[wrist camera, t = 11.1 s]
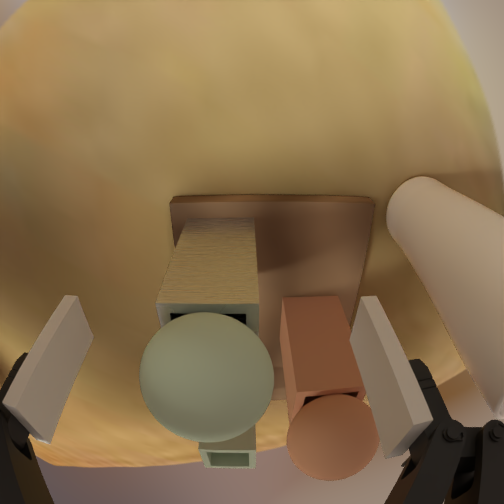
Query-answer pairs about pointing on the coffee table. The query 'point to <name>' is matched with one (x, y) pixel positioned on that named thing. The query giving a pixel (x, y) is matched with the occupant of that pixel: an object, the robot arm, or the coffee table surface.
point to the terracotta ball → (333, 437)
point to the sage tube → (231, 451)
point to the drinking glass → (458, 272)
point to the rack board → (293, 251)
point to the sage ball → (206, 377)
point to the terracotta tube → (317, 351)
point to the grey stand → (213, 272)
